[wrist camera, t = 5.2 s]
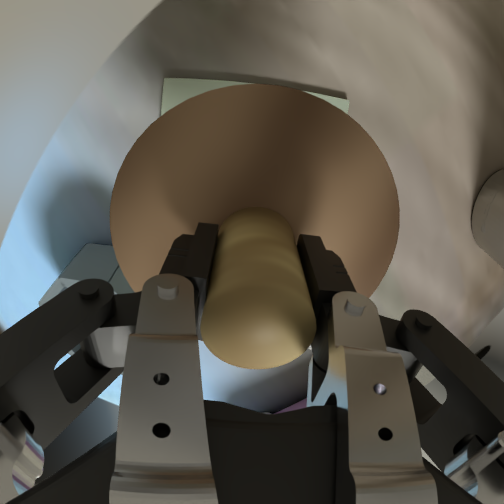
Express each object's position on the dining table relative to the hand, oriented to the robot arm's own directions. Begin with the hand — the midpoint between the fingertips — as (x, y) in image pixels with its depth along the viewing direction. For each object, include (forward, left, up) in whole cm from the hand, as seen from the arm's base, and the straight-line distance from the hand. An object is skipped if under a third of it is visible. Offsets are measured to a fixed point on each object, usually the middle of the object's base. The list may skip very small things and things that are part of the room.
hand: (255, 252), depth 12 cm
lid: (0, 0, -2) cm, 2 cm away
